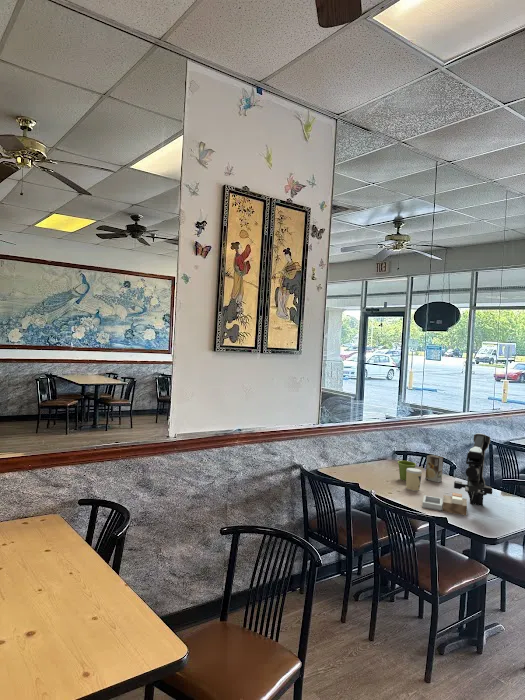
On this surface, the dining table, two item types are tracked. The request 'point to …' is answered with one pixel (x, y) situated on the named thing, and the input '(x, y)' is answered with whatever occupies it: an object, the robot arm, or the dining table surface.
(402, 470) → the plant pot
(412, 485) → the coffee cup
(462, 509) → the brown cream box
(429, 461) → the coffee box
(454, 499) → the cream tile
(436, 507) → the bin
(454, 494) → the terracotta tile
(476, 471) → the robot arm
